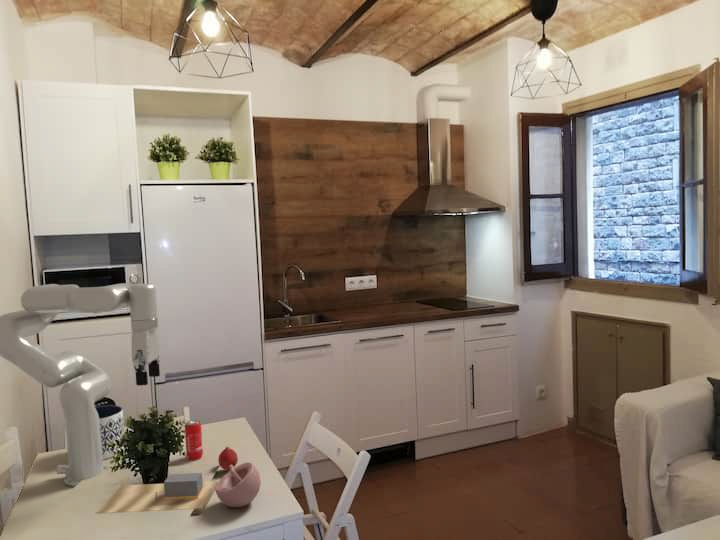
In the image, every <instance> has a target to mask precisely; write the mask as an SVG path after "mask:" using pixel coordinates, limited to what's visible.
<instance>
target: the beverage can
mask: <svg viewBox="0 0 720 540" xmlns="http://www.w3.org/2000/svg"><path fill="white" fill-rule="evenodd" d="M185 431H186V435H185V434H184V437H185V453H186V457H187V459H188V460H189V461H197V460H200V459H202V457H203V454H204V451H203V437H202V436H203V434H202V432H203V431H202V423H201V420H199V419H190V420H188V421H186V422H185V424H184V432H185Z"/></svg>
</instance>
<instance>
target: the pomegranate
mask: <svg viewBox="0 0 720 540" xmlns="http://www.w3.org/2000/svg"><path fill="white" fill-rule="evenodd" d="M217 460H218V465H219V467H220V468H221V469H223V470H225V471H226V472H229V471H230V468H229V465H233V468H235V467H236V465H237V464H238V461H239V459H238V455H237V452H236V451H235V450H233V449H232V448H230V446H225V448H224V449H223V450H222V451H221V453H220V454H219V455H218V459H217Z"/></svg>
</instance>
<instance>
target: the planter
mask: <svg viewBox="0 0 720 540" xmlns="http://www.w3.org/2000/svg"><path fill="white" fill-rule="evenodd" d="M95 408H96V410H97V412H98V415H99V420H100V430H101V443H102V456H103V461H105V460H108V459H112V458H114V457H113V451H114V450H115V449H116V448H109V447H108V445H109V444H112V443H114V441H115V439H120V437H121V436H122V434H123V433H124V432H125V421H124V410H123V407H121V406H119V405H111V404H110V405H100V406H99V405H98V406H95Z"/></svg>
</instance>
